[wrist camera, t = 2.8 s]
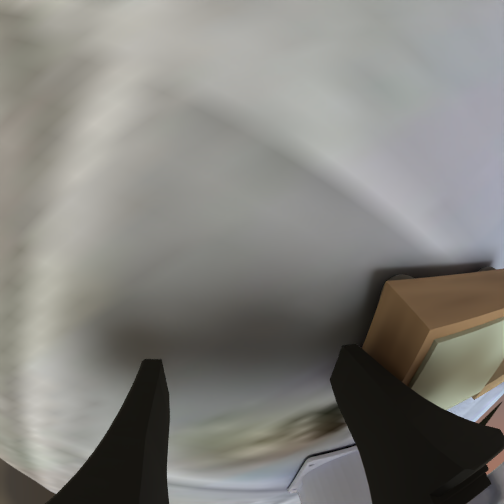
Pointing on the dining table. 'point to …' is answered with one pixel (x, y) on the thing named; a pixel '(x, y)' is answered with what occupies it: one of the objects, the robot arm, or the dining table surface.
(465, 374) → the open box
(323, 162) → the dining table surface
